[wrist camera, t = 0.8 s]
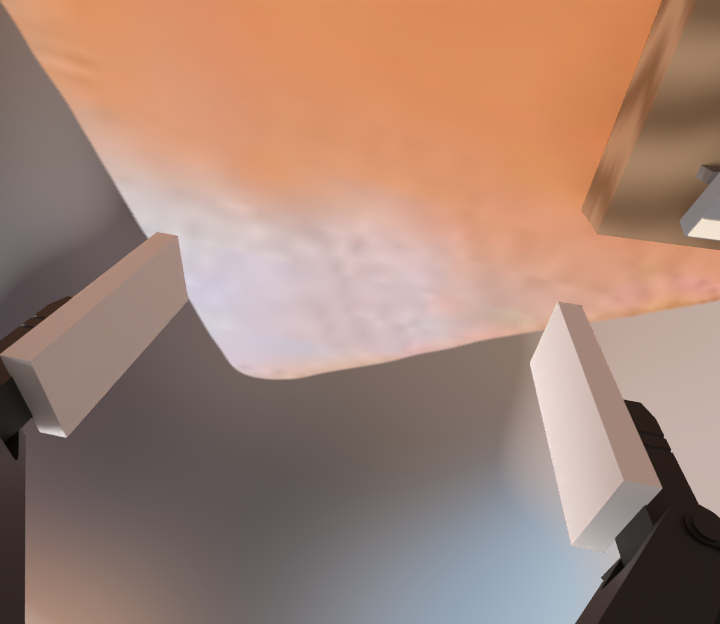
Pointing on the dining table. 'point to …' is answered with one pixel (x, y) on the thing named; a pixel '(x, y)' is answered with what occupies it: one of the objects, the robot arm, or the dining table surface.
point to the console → (664, 131)
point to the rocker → (704, 214)
